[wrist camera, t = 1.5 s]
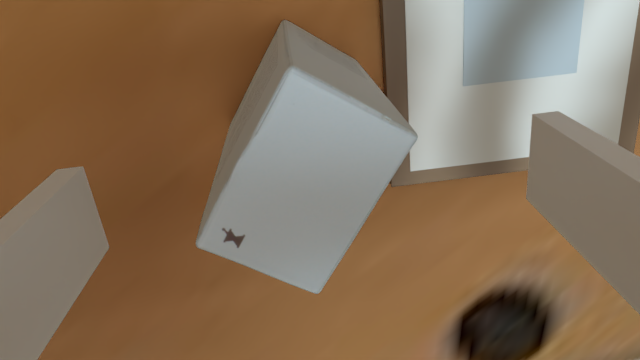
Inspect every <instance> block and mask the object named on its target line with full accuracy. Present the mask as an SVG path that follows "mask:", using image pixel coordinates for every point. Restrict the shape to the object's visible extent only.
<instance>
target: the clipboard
mask: <svg viewBox="0 0 640 360" xmlns="http://www.w3.org/2000/svg"><path fill="white" fill-rule="evenodd" d="M380 19H381V38H382V57H383V76H384V95H385V96H386V97H387V98H388V99H389V100H390V102H391V103H392V104H393V105H394V106H395V108H396V109H397V110H398V111H399V113H400V114H401V115H402V116H403V117H404V119H405V120H406V121H407V122H408V123H409V124H410V126H411V127H412V128H413V129H414V131H415V132H416V133H417V135H418V139H417V141H416V142H415V144H414V145H413V146H412V148H411V149H410V151H409V152H408V154H407V155H406V157H405V159H404V160H403V162H402V163H401V165H400V166H399V168H398V170H397V171H396V173H395V174H394V176H393V177H392V179H391V181H390V184H391V186H392V187H395V186H403V185H411V184H419V183H427V182H436V181H444V180H452V179H460V178H468V177H476V176H484V175H492V174H500V173H509V172H517V171H525V170H528V167H529V153H530V139H531V125H532V114H538V113H546V112H555V111H559V112H561V113H563V114H564V115H566V116H568V117H570V118H571V119H573V120H575V121H577V122H579V123H580V124H582V125H584V126H586V127H587V128H589V129H591V130H593V131H595V132H596V133H598V134H600V135H602V136H603V137H605V138H607V139H609V140H610V141H612V142H614V143H616V144H618V145H619V146H621V147H623V148H625V149H626V150H628V151H630V152H632V153H633V154H634V148H635V142H636V136H637V130H638V124H639V118H640V0H380Z"/></svg>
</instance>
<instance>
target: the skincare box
mask: <svg viewBox="0 0 640 360" xmlns="http://www.w3.org/2000/svg"><path fill="white" fill-rule="evenodd" d="M417 139H418V135H417V133H416V132H415V131H414V129H413V128H412V127H411V126H410V124H409V123H408V122H407V121H406V120H405V119H404V117H403V116H402V115H401V114H400V113H399V111H398V110H397V109H396V108H395V106H394V105H393V104H392V103H391V102H390V100H389V99H388V98H387V97H386V96H385V95H384V93H383V92H382V91H381V90H380V88H379V87H378V86H377V85H376V84H375V82H374V81H373V80H372V79H371V77H370V76H369V75H368V74H367V73H366V71H365V70H364V69H363V68H362V67H361V65H360V64H359V63H358V62H357V60H355V59H354V58H352V57H350V56H348V55H346V54H345V53H343V52H341V51H340V50H338V49H336V48H334V47H333V46H331V45H329V44H327V43H326V42H324V41H322V40H321V39H319V38H317V37H315V36H314V35H312V34H310V33H309V32H307V31H305V30H303V29H302V28H300V27H298V26H296V25H295V24H293V23H291V22H289V21H287V20H283V21H282V22H281V24H280V26H279V27H278V30H277V32H276V33H275V35H274V37H273V39H272V41H271V43H270V45H269V47H268V49H267V51H266V53H265V55H264V57H263V59H262V61H261V63H260V65H259V67H258V69H257V71H256V73H255V75H254V77H253V79H252V81H251V83H250V85H249V87H248V89H247V91H246V93H245V95H244V97H243V100H242V102H241V104H240V106H239V108H238V110H237V112H236V114H235V116H234V118H233V120H232V122H231V124H230V127H229V130H228V133H227V137H226V140H225V143H224V147H223V150H222V154H221V157H220V161H219V164H218V167H217V171H216V174H215V177H214V180H213V184H212V187H211V191H210V194H209V197H208V201H207V204H206V207H205V210H204V213H203V216H202V220H201V223H200V227H199V231H198V235H197V239H196V246H197V247H198V248H200V249H202V250H205V251H208V252H211V253H213V254H216V255H219V256H221V257H224V258H227V259H229V260H232V261H234V262H237V263H239V264H242V265H244V266H247V267H249V268H252V269H254V270H257V271H259V272H261V273H264V274H266V275H269V276H271V277H274V278H276V279H279V280H281V281H284V282H286V283H288V284H291V285H294V286H296V287H299V288H302V289H304V290H307V291H310V292H312V293H315V294H318V293H320V292H321V290H322V289H323V287H324V285H325V284H326V282H327V281H328V279H329V278H330V276H331V275H332V273H333V271H334V270H335V268H336V267H337V265H338V264H339V262H340V260H341V259H342V257H343V256H344V254H345V253H346V251H347V249H348V248H349V246H350V245H351V243H352V242H353V240H354V238H355V237H356V235H357V234H358V232H359V231H360V229H361V227H362V226H363V224H364V222H365V221H366V219H367V218H368V216H369V214H370V213H371V211H372V209H373V208H374V206H375V205H376V203H377V201H378V200H379V198H380V197H381V195H382V193H383V192H384V190H385V188H386V187H387V185H388V184H389V182H390V181H391V179H392V177H393V176H394V174H395V173H396V171H397V170H398V168H399V166H400V165H401V163H402V162H403V160H404V159H405V157H406V155H407V154H408V152H409V151H410V149H411V148H412V146H413V145H414V144H415V142H416V141H417Z"/></svg>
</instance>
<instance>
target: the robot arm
mask: <svg viewBox="0 0 640 360" xmlns="http://www.w3.org/2000/svg"><path fill="white" fill-rule="evenodd" d="M526 199H527V200H528V201H529V202H530V203H531V204H532V205H533V206H534V207H535V208H536V209H537V210H538V211H539V212H540V213H541V214H542V215H543V216H544V217H545V218H546V220H547V221H548V222H549V223H550V224H551V225H552V226H553V227H554V228H555V229H556V230H557V231H558V232H559V233H560V234H561V235H562V236H563V237H564V238H565V239H566V240H567V241H568V242H569V243H570V244H571V245H572V246H573V247H574V248H575V249H576V250H577V251H578V252H579V253H580V254H581V255H582V256H583V257H584V258H585V259H586V260H587V261H588V262H589V263H590V264H591V265H592V266H593V267H594V268H595V269H596V270H597V271H598V273H599V274H600V275H601V276H602V277H603V278H604V279H605V280H606V281H607V282H608V283H609V284H610V285H611V286H612V287H613V288H614V289H615V290H616V291H617V292H618V293H619V294H620V295H621V296H622V297H623V298H624V299H625V300H626V301H627V302H628V303H629V304H630V305H631V306H632V307H633V308H634V309H635V310H636V311H637V312H638V313H639V314H640V157H639V156H637V155H635V154H633V153H632V152H630V151H628V150H626V149H625V148H623V147H621V146H619V145H618V144H616V143H614V142H612V141H610V140H609V139H607V138H605V137H603V136H602V135H600V134H598V133H596V132H595V131H593V130H591V129H589V128H587V127H586V126H584V125H582V124H580V123H579V122H577V121H575V120H573V119H571V118H570V117H568V116H566V115H564V114H563V113H561V112H559V111H555V112H546V113H538V114H532V125H531V139H530V153H529V167H528V181H527V194H526ZM108 249H109V244H108V241H107V238H106V235H105V232H104V229H103V226H102V223H101V220H100V217H99V214H98V210H97V207H96V204H95V201H94V198H93V195H92V192H91V189H90V186H89V183H88V180H87V177H86V173H85V170H84V167H83V166H82V167H73V168H64V169H57V170H56V171H54V172H53V173H52V174H51V175H50V176H49V177H48V178H47V179H45V180H44V181H43V182H42V183H41V184H40V185H39V186H37V187H36V188H35V189H34V190H33V191H32V192H31V193H29V194H28V195H27V196H26V197H25V198H24V199H23V200H22V201H20V202H19V203H18V204H17V205H16V206H15V207H14V208H12V209H11V210H10V211H9V212H8V213H7V214H6V215H4V216H3V217H2V218H1V219H0V360H37V359H38V358H39V356H40V355H41V353H42V352H43V350H44V349H45V347H46V345H47V344H48V342H49V341H50V339H51V338H52V336H53V335H54V333H55V331H56V330H57V328H58V327H59V325H60V324H61V322H62V321H63V319H64V317H65V316H66V314H67V313H68V311H69V310H70V308H71V307H72V305H73V303H74V302H75V300H76V299H77V297H78V296H79V294H80V293H81V291H82V289H83V288H84V286H85V285H86V283H87V282H88V280H89V279H90V277H91V275H92V274H93V272H94V271H95V269H96V268H97V266H98V265H99V263H100V261H101V260H102V258H103V257H104V255H105V254H106V252H107V251H108Z"/></svg>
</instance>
